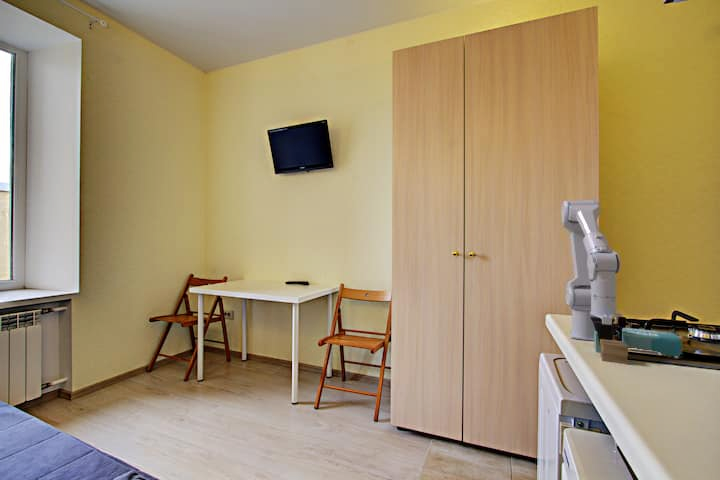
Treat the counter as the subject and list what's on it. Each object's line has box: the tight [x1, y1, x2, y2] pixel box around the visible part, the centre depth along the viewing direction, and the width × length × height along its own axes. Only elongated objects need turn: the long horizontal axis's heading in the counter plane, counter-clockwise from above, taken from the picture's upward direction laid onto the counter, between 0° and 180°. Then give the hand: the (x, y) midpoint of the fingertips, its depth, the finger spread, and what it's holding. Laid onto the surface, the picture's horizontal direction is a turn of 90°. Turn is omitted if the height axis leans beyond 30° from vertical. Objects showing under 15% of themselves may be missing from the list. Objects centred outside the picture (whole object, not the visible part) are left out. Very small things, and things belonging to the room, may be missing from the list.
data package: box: [621, 327, 683, 356], centre depth 97 cm, size 12×4×12 cm
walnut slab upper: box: [600, 339, 629, 357], centre depth 89 cm, size 5×5×2 cm
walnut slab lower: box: [600, 350, 628, 365], centre depth 89 cm, size 5×5×2 cm
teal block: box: [593, 331, 615, 354], centre depth 96 cm, size 4×4×5 cm
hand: (603, 346), depth 96 cm, fingers open, 5 cm apart
